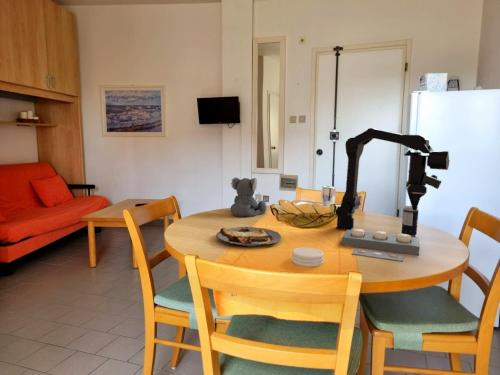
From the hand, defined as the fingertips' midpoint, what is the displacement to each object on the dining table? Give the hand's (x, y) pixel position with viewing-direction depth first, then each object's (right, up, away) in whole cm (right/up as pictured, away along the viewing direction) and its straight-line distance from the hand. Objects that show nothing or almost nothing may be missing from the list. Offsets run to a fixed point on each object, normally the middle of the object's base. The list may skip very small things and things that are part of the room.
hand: (413, 208), depth 135 cm
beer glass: (-24, -7, +44) cm, 50 cm away
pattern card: (-20, -15, -16) cm, 30 cm away
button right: (-8, -12, -9) cm, 17 cm away
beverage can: (+2, -12, +9) cm, 15 cm away
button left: (-23, -11, -3) cm, 25 cm away
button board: (-15, -14, -6) cm, 21 cm away
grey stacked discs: (-45, -16, -24) cm, 54 cm away
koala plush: (-66, -6, +45) cm, 80 cm away
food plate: (-64, -13, 0) cm, 66 cm away
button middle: (-15, -12, -6) cm, 20 cm away
